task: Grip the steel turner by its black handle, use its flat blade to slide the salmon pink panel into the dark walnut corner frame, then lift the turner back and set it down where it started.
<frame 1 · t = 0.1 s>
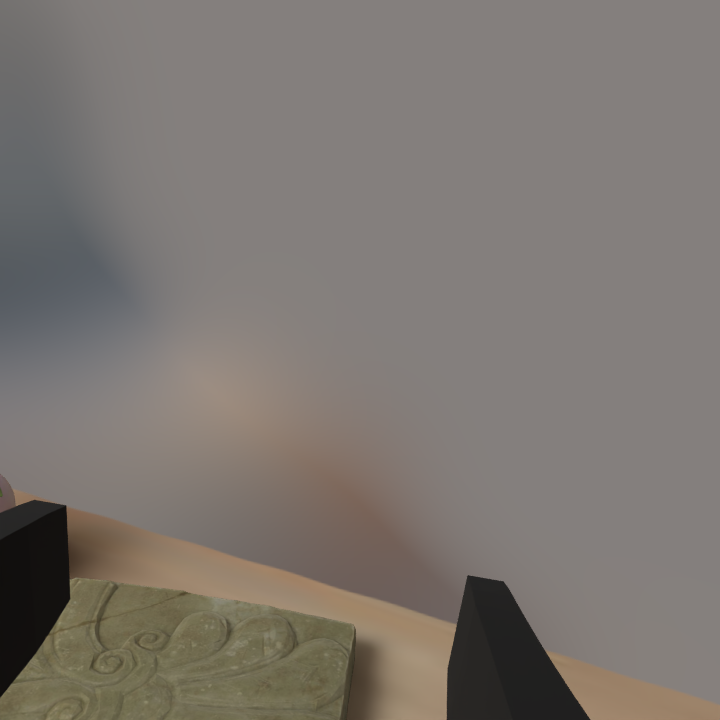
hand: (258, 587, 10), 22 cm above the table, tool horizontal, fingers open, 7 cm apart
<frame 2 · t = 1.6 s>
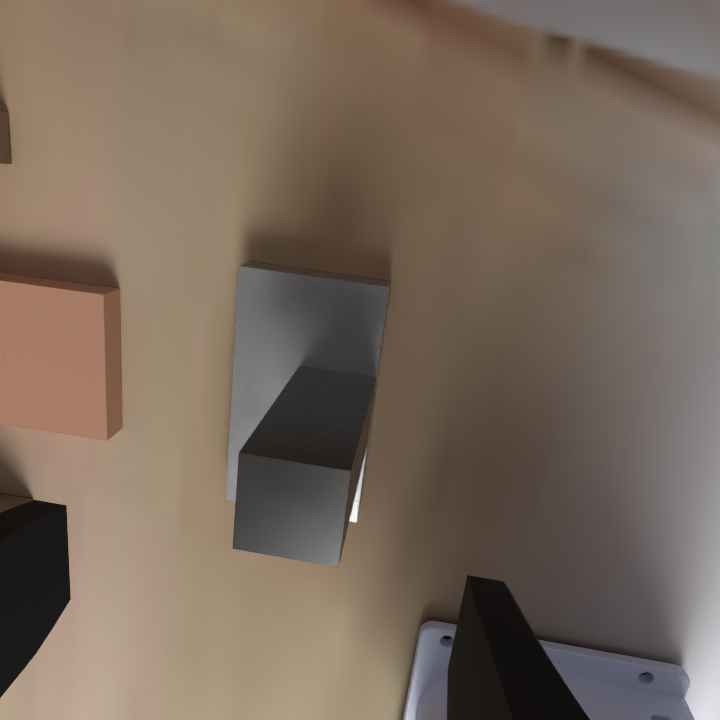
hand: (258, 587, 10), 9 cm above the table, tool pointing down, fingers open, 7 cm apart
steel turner: (338, 395, 19), on the table
salmon pink panel: (59, 347, 20), on the table
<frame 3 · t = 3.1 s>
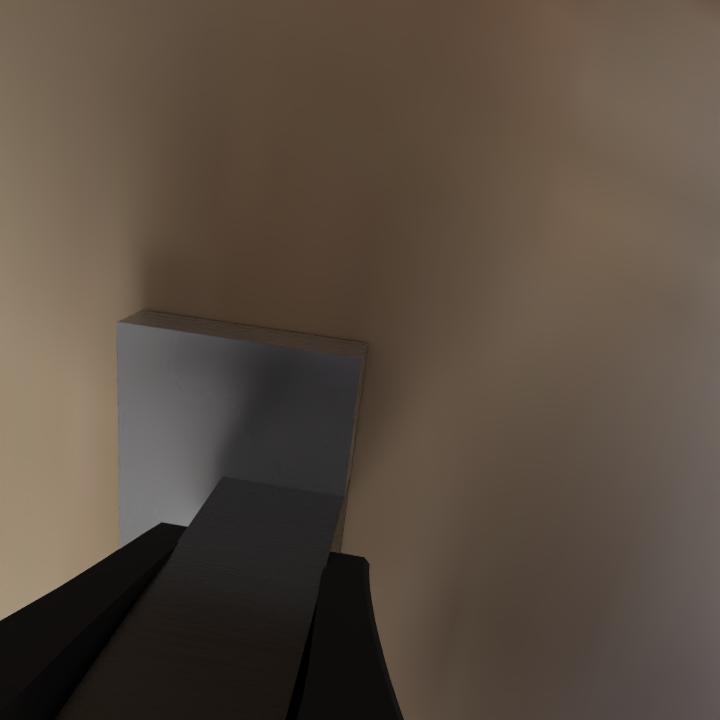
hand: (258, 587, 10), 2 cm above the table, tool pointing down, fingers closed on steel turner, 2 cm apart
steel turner: (289, 511, 12), on the table, touching gripper
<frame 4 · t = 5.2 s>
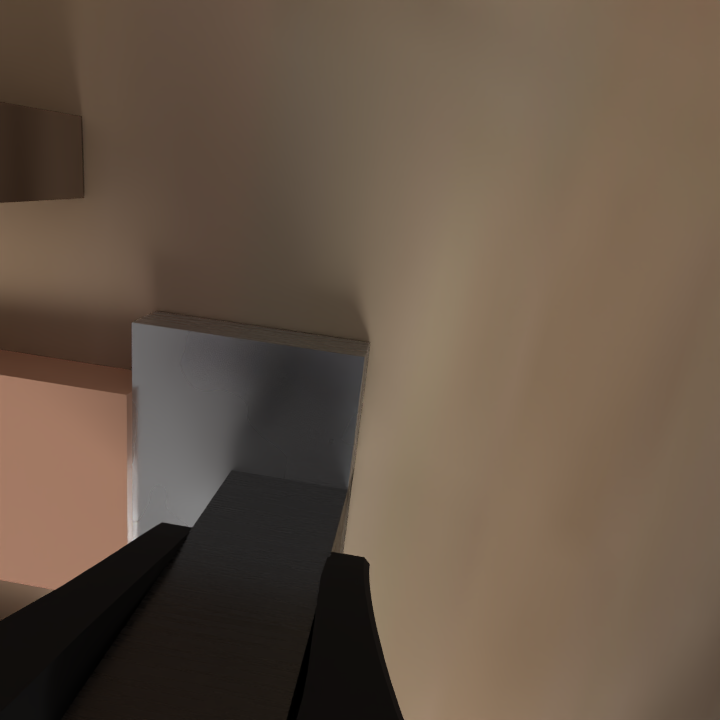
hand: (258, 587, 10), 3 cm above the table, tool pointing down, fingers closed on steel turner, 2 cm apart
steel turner: (295, 504, 13), on the table, touching gripper, salmon pink panel
salmon pink panel: (57, 454, 14), on the table, touching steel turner
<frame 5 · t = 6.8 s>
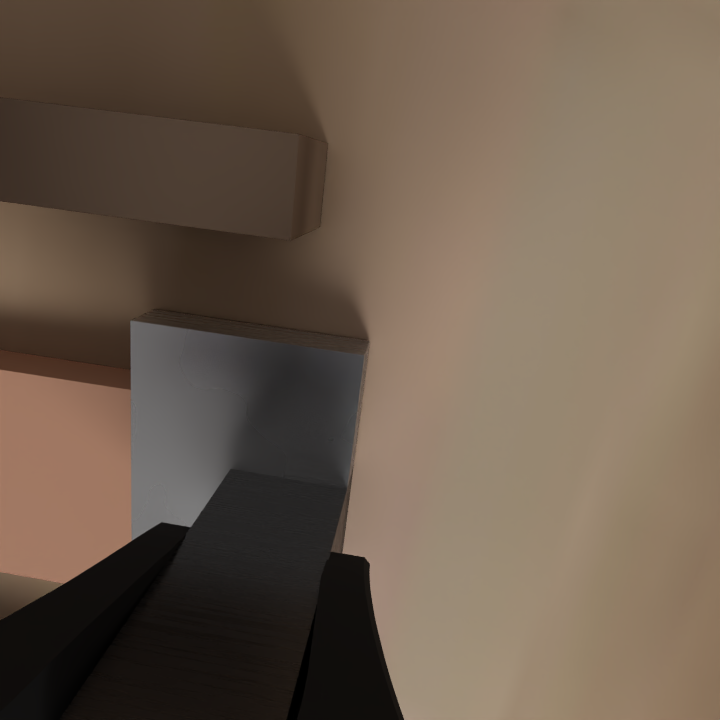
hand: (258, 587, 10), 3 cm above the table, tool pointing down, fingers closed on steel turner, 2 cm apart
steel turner: (294, 503, 13), on the table, touching gripper
salmon pink panel: (61, 449, 14), on the table
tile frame: (80, 463, 13), on the table
when the fingers open (4 cm above the table, at t = 9.4 s): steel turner stays where it is, on the table.
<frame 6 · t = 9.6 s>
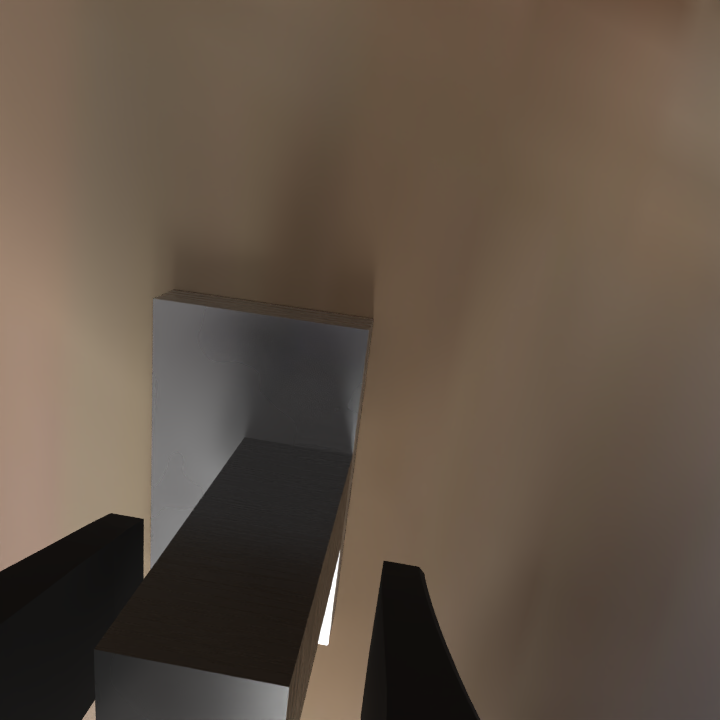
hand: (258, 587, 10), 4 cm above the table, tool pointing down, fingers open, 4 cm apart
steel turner: (302, 472, 14), on the table
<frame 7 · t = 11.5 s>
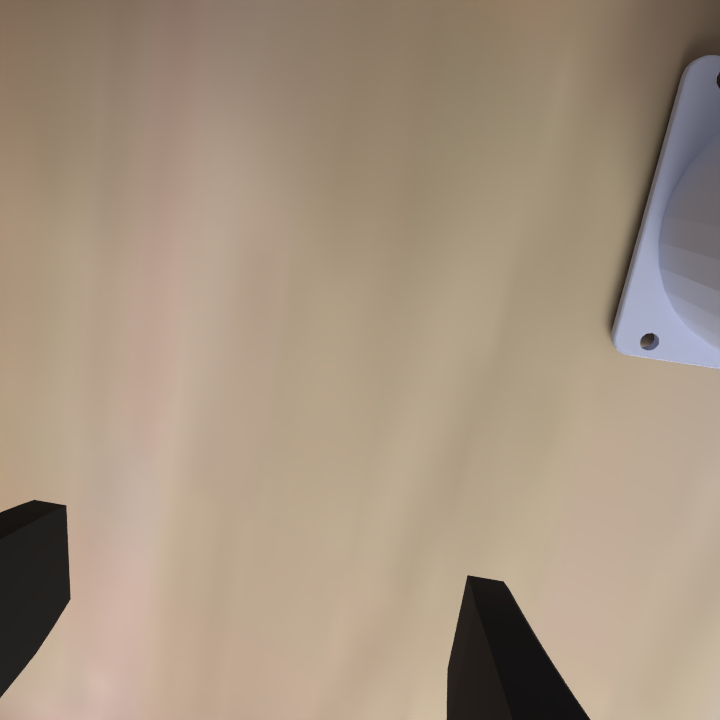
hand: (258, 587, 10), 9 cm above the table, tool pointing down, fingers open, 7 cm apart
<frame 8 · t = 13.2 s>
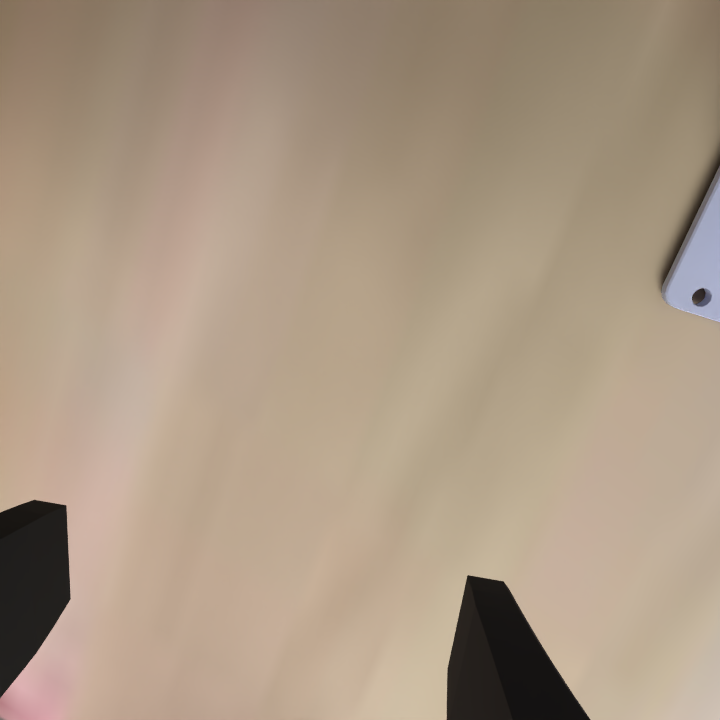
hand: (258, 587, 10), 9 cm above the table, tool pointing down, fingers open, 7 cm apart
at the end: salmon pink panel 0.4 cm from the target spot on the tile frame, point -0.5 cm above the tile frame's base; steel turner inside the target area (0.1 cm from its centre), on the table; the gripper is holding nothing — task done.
